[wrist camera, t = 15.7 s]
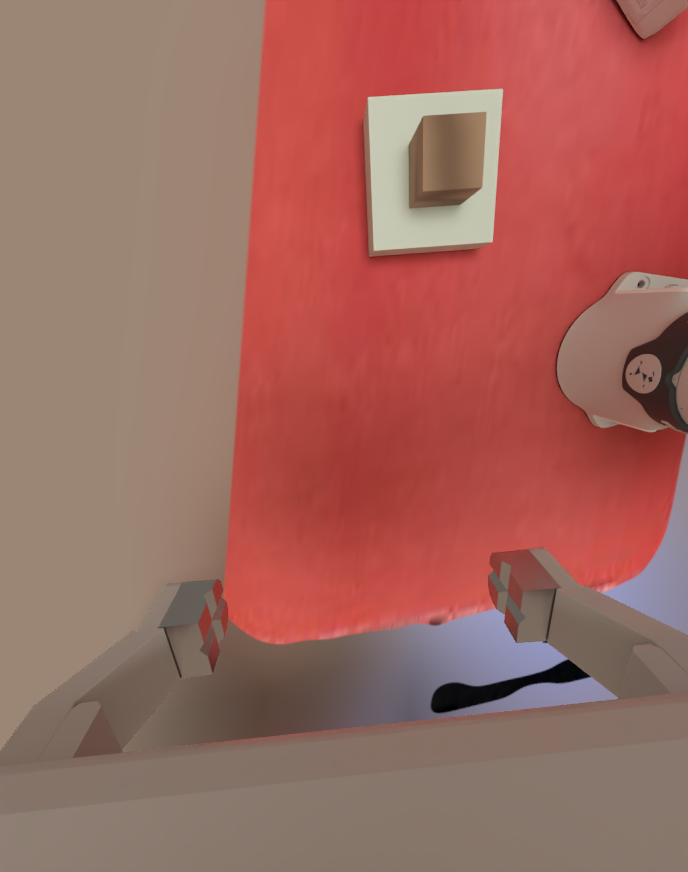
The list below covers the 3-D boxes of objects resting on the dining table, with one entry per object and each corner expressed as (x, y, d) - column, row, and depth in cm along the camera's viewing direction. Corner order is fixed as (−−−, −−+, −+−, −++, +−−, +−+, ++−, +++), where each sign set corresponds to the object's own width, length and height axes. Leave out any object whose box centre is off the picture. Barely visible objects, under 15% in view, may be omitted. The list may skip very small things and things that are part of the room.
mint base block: (483, 113, 34) (503, 88, 30) (476, 248, 38) (492, 242, 35) (363, 120, 34) (367, 97, 30) (369, 256, 38) (373, 250, 34)
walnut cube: (462, 141, 32) (486, 111, 27) (460, 204, 33) (482, 187, 29) (408, 144, 32) (423, 115, 27) (408, 208, 33) (422, 191, 29)
